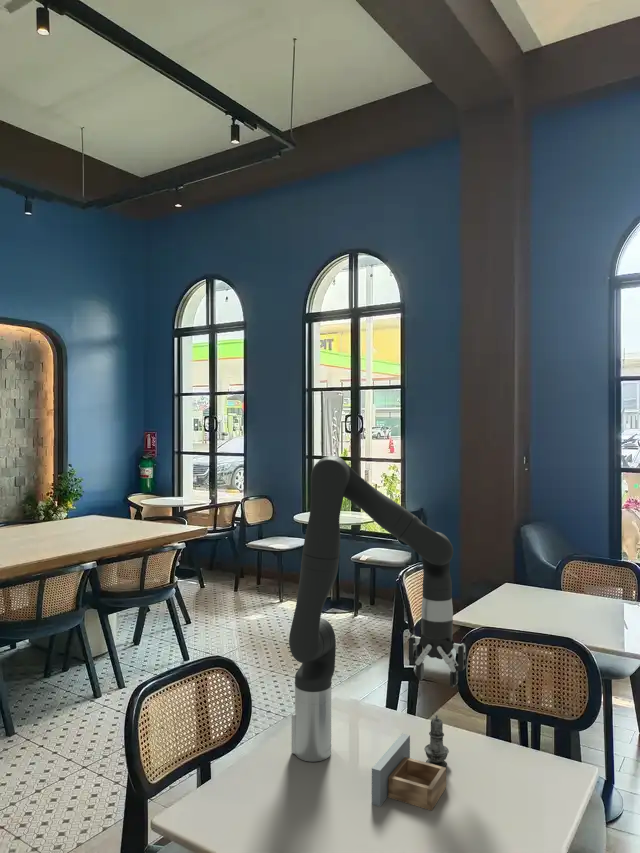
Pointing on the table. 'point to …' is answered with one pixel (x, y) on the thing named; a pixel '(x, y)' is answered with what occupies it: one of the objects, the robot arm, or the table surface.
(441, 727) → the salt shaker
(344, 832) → the table surface
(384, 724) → the table surface
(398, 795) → the socket block
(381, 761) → the backstop board
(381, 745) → the table surface
